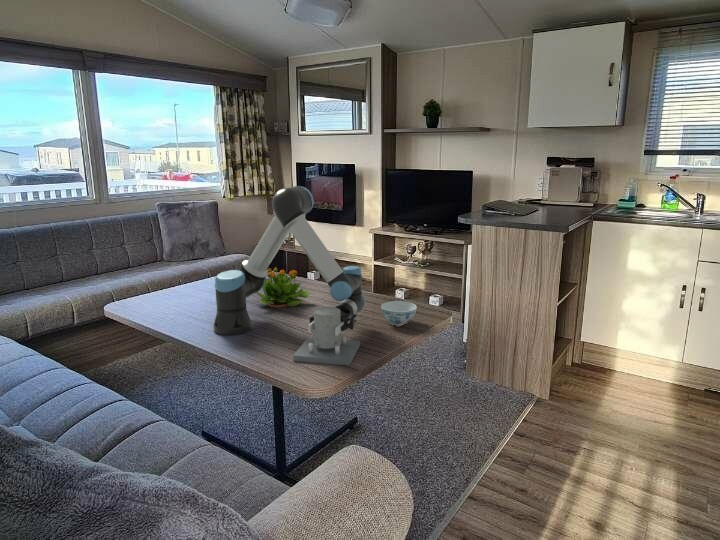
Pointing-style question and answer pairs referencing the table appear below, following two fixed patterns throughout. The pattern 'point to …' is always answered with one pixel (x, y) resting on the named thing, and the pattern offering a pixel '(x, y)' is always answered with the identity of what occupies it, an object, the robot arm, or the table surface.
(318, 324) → the grey marbled cylinder
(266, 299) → the potted flower
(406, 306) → the chinaware
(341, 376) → the table surface
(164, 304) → the table surface
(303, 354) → the stub board
